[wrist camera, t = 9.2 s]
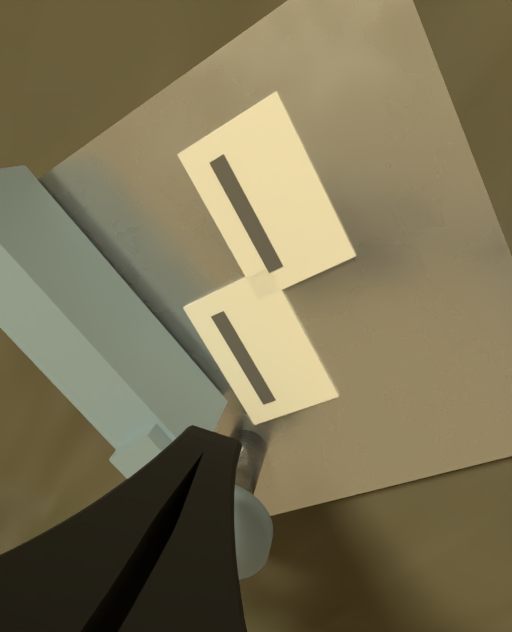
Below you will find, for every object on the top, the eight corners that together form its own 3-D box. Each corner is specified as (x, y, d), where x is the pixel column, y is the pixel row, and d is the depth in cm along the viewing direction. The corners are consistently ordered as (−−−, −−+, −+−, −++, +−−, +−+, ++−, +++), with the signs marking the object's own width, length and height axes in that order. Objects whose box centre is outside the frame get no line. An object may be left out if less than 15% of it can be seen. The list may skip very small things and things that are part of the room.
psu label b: (339, 393, 19) (338, 397, 18) (255, 422, 20) (254, 425, 20) (269, 265, 17) (268, 267, 17) (184, 306, 19) (182, 308, 18)
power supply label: (356, 254, 16) (356, 256, 16) (259, 298, 18) (258, 300, 17) (277, 91, 15) (276, 90, 14) (179, 153, 16) (176, 154, 16)
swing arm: (307, 469, 20) (292, 560, 16) (238, 502, 21) (208, 592, 17) (37, 151, 17) (-69, 161, 13) (-20, 217, 18) (-129, 245, 14)
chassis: (571, 422, 18) (639, 523, 13) (248, 507, 23) (220, 598, 19) (384, -58, 13) (393, -145, 9) (39, 186, 19) (-63, 207, 14)
